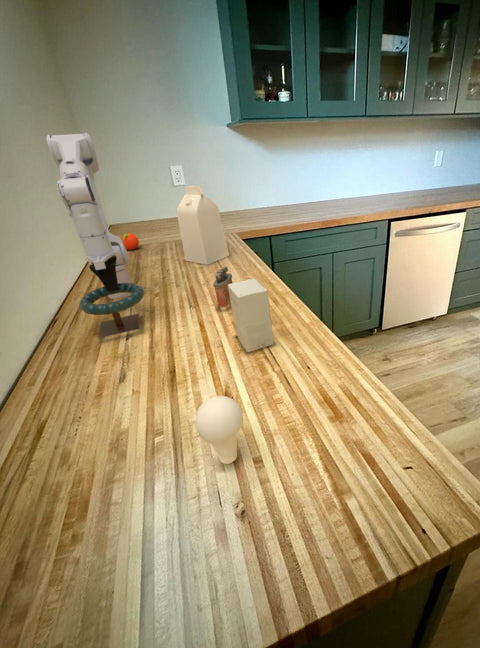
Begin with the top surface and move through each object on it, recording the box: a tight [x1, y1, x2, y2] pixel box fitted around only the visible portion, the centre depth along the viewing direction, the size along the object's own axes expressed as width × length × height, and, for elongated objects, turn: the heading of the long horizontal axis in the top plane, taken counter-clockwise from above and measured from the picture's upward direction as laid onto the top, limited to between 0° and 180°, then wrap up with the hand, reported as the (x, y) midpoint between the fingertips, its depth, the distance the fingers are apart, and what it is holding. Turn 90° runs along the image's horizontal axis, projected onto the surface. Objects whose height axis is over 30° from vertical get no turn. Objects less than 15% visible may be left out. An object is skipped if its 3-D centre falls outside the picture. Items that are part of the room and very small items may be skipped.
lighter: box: [212, 265, 233, 308], centre depth 90 cm, size 8×3×10 cm, turn 168°
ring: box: [79, 282, 145, 316], centre depth 80 cm, size 14×14×2 cm
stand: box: [98, 301, 140, 339], centre depth 82 cm, size 9×9×7 cm
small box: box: [228, 278, 275, 353], centre depth 72 cm, size 8×6×13 cm
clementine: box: [120, 232, 140, 251], centre depth 145 cm, size 8×7×7 cm
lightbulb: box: [194, 395, 244, 465], centre depth 45 cm, size 6×6×11 cm
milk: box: [176, 185, 230, 266], centre depth 123 cm, size 12×12×26 cm
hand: (113, 288), depth 84 cm, fingers closed on ring, 2 cm apart
